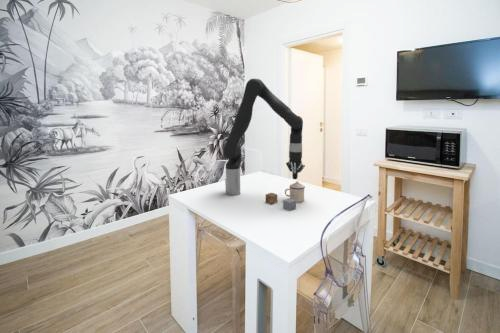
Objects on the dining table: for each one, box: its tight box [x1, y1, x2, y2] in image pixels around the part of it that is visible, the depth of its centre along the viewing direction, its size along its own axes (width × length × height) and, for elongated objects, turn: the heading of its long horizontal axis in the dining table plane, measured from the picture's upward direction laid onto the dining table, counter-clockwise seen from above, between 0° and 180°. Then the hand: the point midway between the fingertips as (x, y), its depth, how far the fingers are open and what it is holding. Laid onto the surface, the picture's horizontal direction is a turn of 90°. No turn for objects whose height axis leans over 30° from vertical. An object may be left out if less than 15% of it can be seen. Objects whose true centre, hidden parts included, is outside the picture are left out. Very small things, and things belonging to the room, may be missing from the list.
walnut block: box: [265, 192, 278, 205], centre depth 162 cm, size 5×5×5 cm
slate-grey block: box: [282, 197, 297, 212], centre depth 152 cm, size 5×5×5 cm
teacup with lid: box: [284, 180, 305, 203], centre depth 165 cm, size 12×9×12 cm
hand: (294, 178), depth 163 cm, fingers closed
